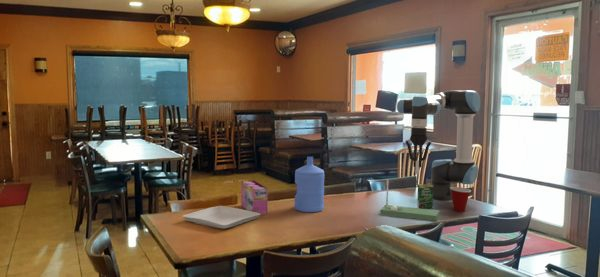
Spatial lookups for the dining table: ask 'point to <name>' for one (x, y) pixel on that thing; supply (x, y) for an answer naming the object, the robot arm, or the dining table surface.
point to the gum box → (254, 197)
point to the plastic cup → (459, 198)
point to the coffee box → (425, 196)
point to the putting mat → (411, 212)
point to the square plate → (221, 217)
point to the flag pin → (387, 193)
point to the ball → (393, 208)
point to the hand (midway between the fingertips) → (417, 173)
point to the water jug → (309, 188)
